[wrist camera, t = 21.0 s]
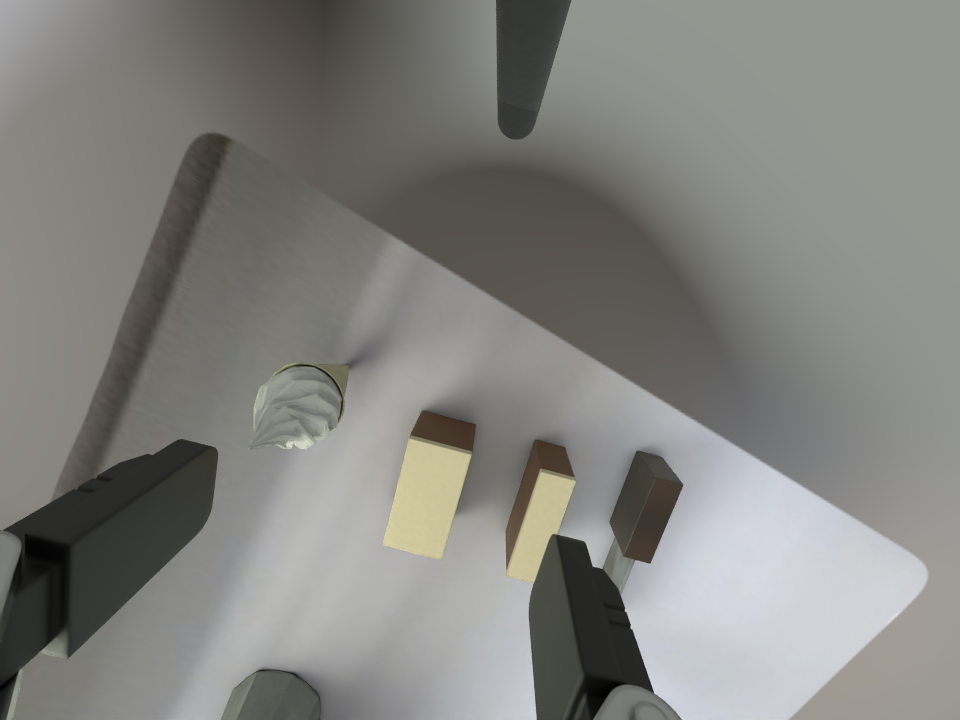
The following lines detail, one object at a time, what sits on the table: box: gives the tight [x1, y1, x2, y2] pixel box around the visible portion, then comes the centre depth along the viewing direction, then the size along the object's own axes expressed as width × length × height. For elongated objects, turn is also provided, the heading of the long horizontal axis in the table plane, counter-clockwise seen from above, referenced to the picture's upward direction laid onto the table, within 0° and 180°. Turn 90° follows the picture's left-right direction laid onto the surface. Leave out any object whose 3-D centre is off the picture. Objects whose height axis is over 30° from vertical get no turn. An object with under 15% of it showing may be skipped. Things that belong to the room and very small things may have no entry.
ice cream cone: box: [249, 362, 350, 449], centre depth 29 cm, size 5×5×15 cm
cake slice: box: [506, 440, 576, 583], centre depth 36 cm, size 9×3×6 cm, turn 165°
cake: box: [383, 411, 476, 560], centre depth 36 cm, size 9×5×6 cm, turn 165°
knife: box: [603, 451, 683, 595], centre depth 37 cm, size 16×2×4 cm, turn 165°
